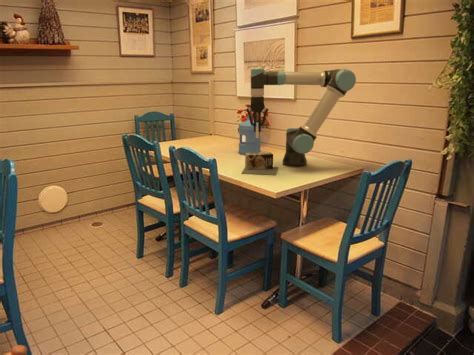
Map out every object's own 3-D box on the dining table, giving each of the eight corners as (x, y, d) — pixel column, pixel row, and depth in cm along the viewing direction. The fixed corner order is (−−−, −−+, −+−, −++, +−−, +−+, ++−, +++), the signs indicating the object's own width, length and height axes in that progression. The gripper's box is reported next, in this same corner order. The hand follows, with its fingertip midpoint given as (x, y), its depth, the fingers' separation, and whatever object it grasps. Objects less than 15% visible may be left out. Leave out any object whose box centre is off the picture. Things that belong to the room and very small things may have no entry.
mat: (278, 167, 234) (278, 167, 234) (275, 175, 217) (276, 174, 217) (246, 166, 237) (246, 165, 237) (241, 173, 220) (241, 173, 220)
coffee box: (246, 155, 225) (273, 154, 227) (245, 152, 231) (270, 151, 233) (246, 170, 227) (273, 168, 230) (245, 167, 233) (270, 166, 236)
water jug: (260, 151, 282) (261, 113, 274) (259, 155, 267) (260, 115, 259) (239, 150, 283) (239, 112, 276) (237, 155, 268) (237, 115, 261)
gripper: (269, 95, 218) (269, 136, 225) (247, 95, 220) (247, 136, 227) (268, 96, 211) (267, 138, 218) (245, 96, 213) (245, 138, 220)
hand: (257, 137), depth 222 cm, fingers closed
